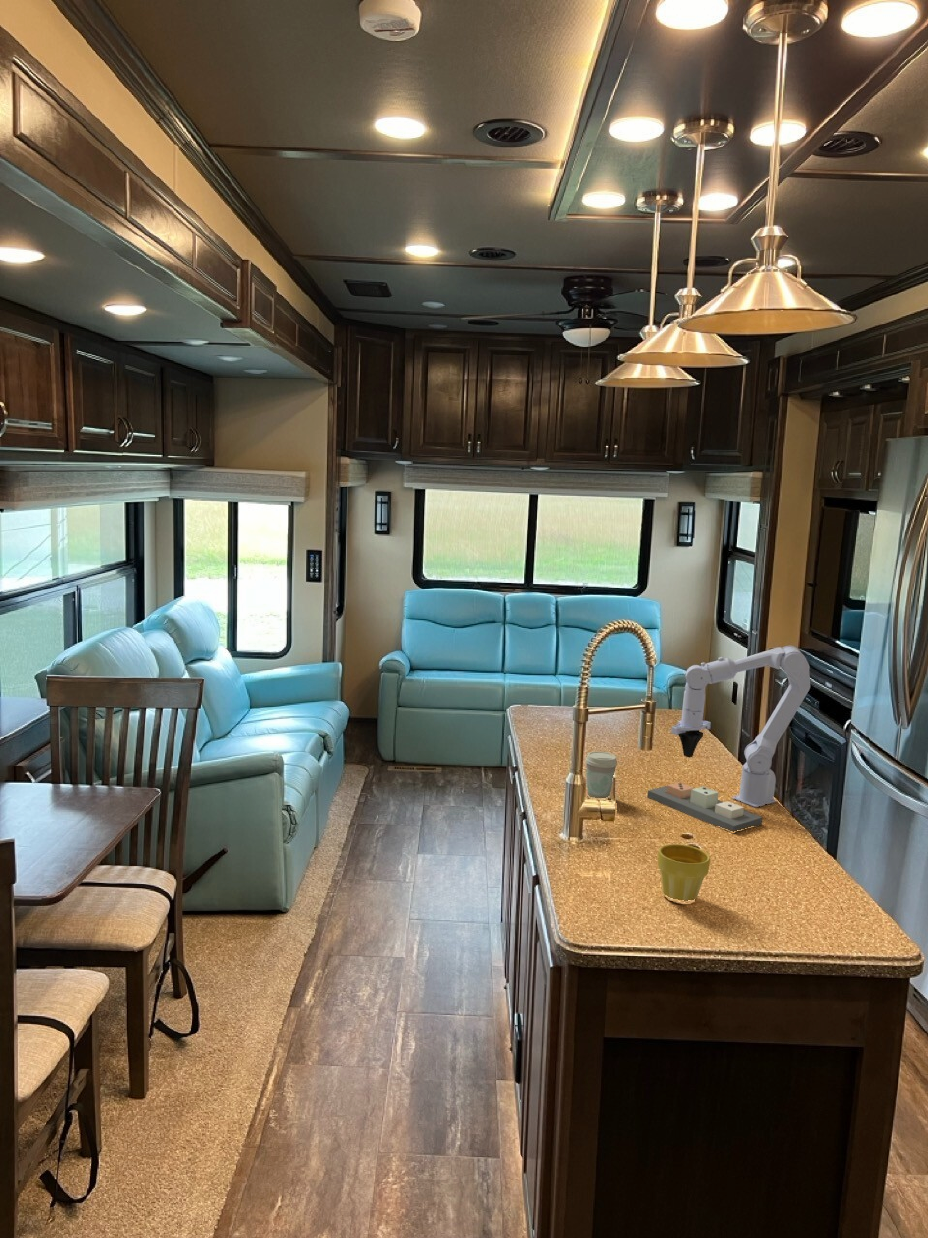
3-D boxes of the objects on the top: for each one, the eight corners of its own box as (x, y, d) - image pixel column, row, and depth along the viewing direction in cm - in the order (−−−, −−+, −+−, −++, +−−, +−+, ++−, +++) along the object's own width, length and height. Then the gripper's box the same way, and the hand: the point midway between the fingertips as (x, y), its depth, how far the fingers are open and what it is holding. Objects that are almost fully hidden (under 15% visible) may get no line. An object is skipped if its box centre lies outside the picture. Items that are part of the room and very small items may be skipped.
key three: (677, 796, 249) (679, 781, 248) (692, 802, 245) (693, 787, 244) (665, 799, 246) (667, 784, 245) (680, 805, 242) (681, 790, 241)
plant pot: (668, 881, 195) (672, 838, 193) (713, 898, 189) (718, 854, 187) (645, 897, 187) (649, 852, 185) (691, 914, 181) (696, 869, 179)
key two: (701, 800, 242) (703, 785, 242) (717, 806, 238) (718, 791, 238) (689, 803, 239) (691, 788, 239) (705, 810, 235) (706, 794, 235)
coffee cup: (577, 799, 241) (581, 756, 239) (588, 790, 249) (592, 748, 247) (607, 806, 237) (612, 763, 235) (618, 797, 245) (622, 754, 243)
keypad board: (676, 790, 254) (676, 783, 253) (761, 824, 232) (762, 817, 231) (647, 797, 246) (648, 790, 246) (733, 833, 224) (734, 826, 224)
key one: (725, 815, 236) (727, 800, 236) (742, 822, 232) (743, 806, 232) (713, 819, 233) (715, 803, 233) (730, 825, 229) (731, 810, 229)
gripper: (698, 702, 256) (693, 748, 258) (664, 708, 247) (659, 755, 250) (718, 708, 251) (713, 755, 253) (684, 714, 242) (679, 763, 244)
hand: (687, 756), depth 251 cm, fingers closed
